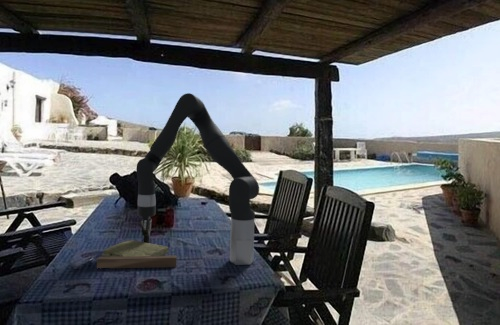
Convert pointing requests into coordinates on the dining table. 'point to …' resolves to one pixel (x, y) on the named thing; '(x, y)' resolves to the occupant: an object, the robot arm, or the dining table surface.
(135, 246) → the olive stone slab
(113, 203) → the dining table surface
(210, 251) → the dining table surface
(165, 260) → the walnut rail
